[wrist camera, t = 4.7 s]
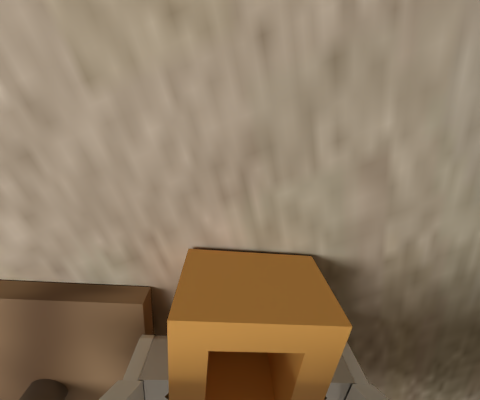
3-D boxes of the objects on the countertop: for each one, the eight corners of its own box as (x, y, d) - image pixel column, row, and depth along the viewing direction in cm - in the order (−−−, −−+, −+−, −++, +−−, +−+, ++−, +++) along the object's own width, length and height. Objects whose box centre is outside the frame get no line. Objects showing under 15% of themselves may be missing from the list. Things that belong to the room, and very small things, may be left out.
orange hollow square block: (311, 256, 10) (352, 327, 7) (284, 361, 12) (304, 450, 9) (188, 248, 9) (167, 320, 6) (186, 358, 12) (170, 451, 9)
